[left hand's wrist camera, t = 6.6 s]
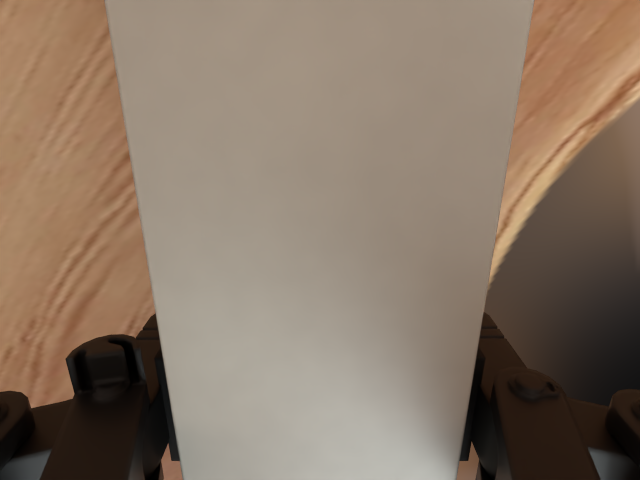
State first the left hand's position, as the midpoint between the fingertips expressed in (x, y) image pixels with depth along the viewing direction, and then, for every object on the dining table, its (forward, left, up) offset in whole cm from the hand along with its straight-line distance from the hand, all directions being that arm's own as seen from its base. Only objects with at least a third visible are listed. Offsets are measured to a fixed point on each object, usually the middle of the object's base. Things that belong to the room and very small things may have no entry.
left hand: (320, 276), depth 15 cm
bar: (-10, +17, -1) cm, 19 cm away
